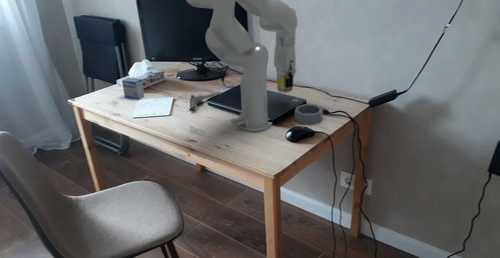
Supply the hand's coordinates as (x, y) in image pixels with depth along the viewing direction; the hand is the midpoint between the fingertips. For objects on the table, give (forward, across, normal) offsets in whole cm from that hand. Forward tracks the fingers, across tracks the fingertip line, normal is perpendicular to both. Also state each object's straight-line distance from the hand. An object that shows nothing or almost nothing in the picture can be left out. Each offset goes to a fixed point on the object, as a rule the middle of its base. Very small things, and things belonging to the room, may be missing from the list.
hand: (284, 84), depth 172 cm
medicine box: (+11, -44, -54) cm, 70 cm away
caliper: (+10, -22, -26) cm, 36 cm away
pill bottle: (+3, 0, 0) cm, 3 cm away
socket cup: (+9, +16, +2) cm, 19 cm away
